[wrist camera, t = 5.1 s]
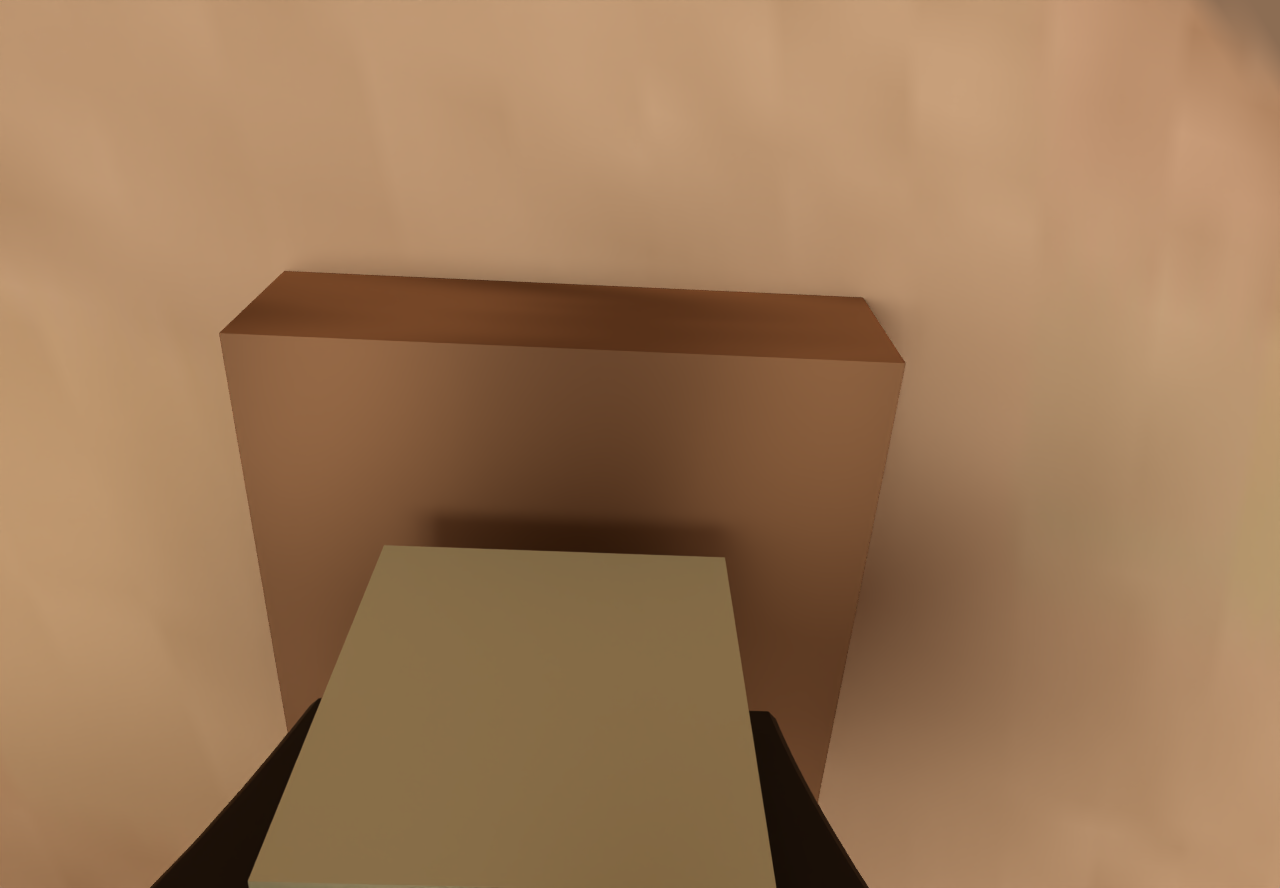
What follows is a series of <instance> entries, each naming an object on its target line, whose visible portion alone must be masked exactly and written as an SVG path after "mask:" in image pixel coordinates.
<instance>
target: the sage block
mask: <svg viewBox="0 0 1280 888" xmlns="http://www.w3.org/2000/svg"><path fill="white" fill-rule="evenodd" d="M248 885H249V888H776V882H775V876H774V870H773V863H772V857H771V850H770V844H769V837H768V831H767V825H766V818H765V812H764V805H763V799H762V793H761V786H760V780H759V773H758V767H757V760H756V754H755V748H754V741H753V735H752V728H751V722H750V716H749V709H748V703H747V696H746V690H745V683H744V677H743V671H742V664H741V658H740V651H739V645H738V638H737V632H736V626H735V619H734V613H733V606H732V600H731V594H730V587H729V581H728V574H727V568H726V561H725V557H699V556H671V555H643V554H615V553H587V552H559V551H531V550H504V549H476V548H448V547H420V546H392V545H384V546H383V549H382V551H381V554H380V556H379V559H378V561H377V564H376V566H375V569H374V571H373V574H372V576H371V578H370V581H369V583H368V586H367V588H366V591H365V593H364V596H363V598H362V601H361V603H360V606H359V608H358V611H357V613H356V615H355V618H354V620H353V623H352V625H351V628H350V630H349V633H348V635H347V638H346V640H345V643H344V645H343V648H342V650H341V652H340V655H339V657H338V660H337V662H336V665H335V667H334V670H333V672H332V675H331V677H330V680H329V682H328V685H327V687H326V689H325V692H324V694H323V697H322V699H321V702H320V704H319V707H318V709H317V712H316V714H315V717H314V719H313V722H312V724H311V726H310V729H309V731H308V734H307V736H306V739H305V741H304V744H303V746H302V749H301V751H300V754H299V756H298V759H297V761H296V763H295V766H294V768H293V771H292V773H291V776H290V778H289V781H288V783H287V786H286V788H285V791H284V793H283V796H282V798H281V800H280V803H279V805H278V808H277V810H276V813H275V815H274V818H273V820H272V823H271V825H270V828H269V830H268V833H267V835H266V837H265V840H264V842H263V845H262V847H261V850H260V852H259V855H258V857H257V860H256V862H255V865H254V867H253V870H252V872H251V874H250V877H249V879H248Z"/></svg>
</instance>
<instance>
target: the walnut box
mask: <svg viewBox="0 0 1280 888" xmlns="http://www.w3.org/2000/svg"><path fill="white" fill-rule="evenodd" d="M219 336H220V341H221V347H222V353H223V359H224V365H225V370H226V376H227V382H228V388H229V394H230V400H231V405H232V411H233V417H234V423H235V429H236V434H237V440H238V446H239V452H240V458H241V464H242V469H243V475H244V481H245V487H246V493H247V498H248V504H249V510H250V516H251V522H252V527H253V533H254V539H255V545H256V551H257V557H258V562H259V568H260V574H261V580H262V586H263V591H264V597H265V603H266V609H267V615H268V621H269V626H270V632H271V638H272V644H273V650H274V655H275V661H276V667H277V673H278V679H279V684H280V690H281V696H282V702H283V708H284V714H285V719H286V725H287V731H288V732H289V731H290V730H291V729H292V727H293V726H294V725H295V724H296V722H297V721H298V720H299V719H300V717H301V716H302V715H303V714H304V712H305V711H306V710H307V709H308V707H309V706H310V705H311V704H312V703H313V702H315V701H316V700H317V699H318V698H322V697H323V694H324V692H325V689H326V687H327V685H328V682H329V680H330V677H331V675H332V672H333V670H334V667H335V665H336V662H337V660H338V657H339V655H340V652H341V650H342V648H343V645H344V643H345V640H346V638H347V635H348V633H349V630H350V628H351V625H352V623H353V620H354V618H355V615H356V613H357V611H358V608H359V606H360V603H361V601H362V598H363V596H364V593H365V591H366V588H367V586H368V583H369V581H370V578H371V576H372V574H373V571H374V569H375V566H376V564H377V561H378V559H379V556H380V554H381V551H382V549H383V546H384V545H392V546H420V547H448V548H476V549H504V550H531V551H559V552H587V553H615V554H643V555H671V556H699V557H725V561H726V568H727V574H728V581H729V587H730V594H731V600H732V606H733V613H734V619H735V626H736V632H737V638H738V645H739V651H740V658H741V664H742V671H743V677H744V683H745V690H746V696H747V703H748V709H749V711H769V712H770V713H771V714H772V715H773V716H774V717H775V718H776V720H777V723H778V725H779V727H780V730H781V732H782V734H783V736H784V738H785V741H786V743H787V745H788V747H789V749H790V751H791V753H792V755H793V757H794V759H795V761H796V763H797V765H798V767H799V769H800V771H801V773H802V775H803V777H804V779H805V781H806V783H807V784H808V786H809V788H810V790H811V792H812V794H813V796H814V798H815V799H816V801H817V803H818V798H819V793H820V788H821V783H822V778H823V773H824V768H825V763H826V758H827V753H828V748H829V743H830V738H831V733H832V728H833V723H834V718H835V713H836V708H837V703H838V698H839V693H840V688H841V683H842V678H843V673H844V668H845V663H846V658H847V653H848V648H849V643H850V638H851V633H852V628H853V623H854V618H855V613H856V608H857V603H858V598H859V593H860V588H861V583H862V578H863V573H864V568H865V563H866V558H867V553H868V548H869V543H870V538H871V533H872V528H873V523H874V518H875V513H876V508H877V503H878V498H879V493H880V488H881V483H882V478H883V473H884V468H885V463H886V458H887V453H888V448H889V443H890V438H891V433H892V428H893V423H894V418H895V413H896V408H897V403H898V398H899V393H900V388H901V383H902V378H903V373H904V368H905V362H904V360H903V359H902V357H901V356H900V354H899V353H898V351H897V349H896V348H895V346H894V345H893V343H892V342H891V340H890V339H889V337H888V336H887V334H886V333H885V331H884V329H883V328H882V326H881V325H880V323H879V322H878V320H877V319H876V317H875V316H874V314H873V313H872V311H871V310H870V308H869V306H868V305H867V303H866V302H865V300H864V299H863V298H861V297H839V296H817V295H795V294H773V293H751V292H729V291H708V290H686V289H664V288H642V287H620V286H598V285H576V284H555V283H533V282H511V281H489V280H467V279H445V278H423V277H401V276H380V275H358V274H336V273H314V272H292V271H284V272H283V273H282V274H281V275H280V276H279V277H278V278H277V279H275V280H274V281H273V282H272V283H271V284H270V285H269V286H268V287H267V288H266V289H265V290H264V291H263V292H262V293H261V294H260V295H259V296H258V297H257V298H256V299H254V300H253V301H252V302H251V303H250V304H249V305H248V306H247V307H246V308H245V309H244V310H243V311H242V312H241V313H240V314H239V315H238V316H237V317H236V318H235V319H234V320H232V321H231V322H230V323H229V324H228V325H227V326H226V327H225V328H224V329H223V330H222V331H221V332H220V333H219Z"/></svg>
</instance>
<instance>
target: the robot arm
mask: <svg viewBox="0 0 1280 888" xmlns="http://www.w3.org/2000/svg"><path fill="white" fill-rule="evenodd" d="M321 699H322V698H318V699H317V700H316V701H315V702H313V703H312V704H311V705H310V706H309V707H308V709H307V710H306V711H305V712H304V714H303V715H302V716H301V717H300V719H299V720H298V721H297V722H296V724H295V725H294V726H293V727H292V729H291V730H290V731H289V732H288V734H287V735H286V736H285V737H284V739H283V740H282V741H281V742H280V744H279V745H278V746H277V747H276V748H275V750H274V751H273V752H272V753H271V755H270V756H269V757H268V758H267V759H266V761H265V762H264V763H263V764H262V765H261V767H260V768H259V769H258V770H257V771H256V772H255V774H254V775H253V776H252V777H251V778H250V780H249V781H248V782H247V783H246V784H245V785H244V787H243V788H242V789H241V790H240V791H239V792H238V793H237V795H236V796H235V797H234V798H233V799H232V800H231V801H230V802H229V804H228V805H227V806H226V807H225V808H224V809H223V810H222V811H221V813H220V814H219V815H218V816H217V817H216V818H215V819H214V820H213V822H212V823H211V824H210V825H209V826H208V827H207V828H206V829H205V831H204V832H203V833H202V834H201V835H200V836H199V837H198V838H197V839H196V841H195V842H194V843H193V844H192V845H191V846H190V847H189V848H188V849H187V850H186V851H185V852H184V853H183V854H182V855H181V856H180V857H179V858H178V860H177V861H176V862H175V863H174V864H173V865H172V866H171V867H170V868H169V869H168V870H167V871H166V872H165V873H164V874H163V875H162V876H161V877H160V878H159V879H158V880H157V881H156V882H155V883H154V884H153V885H152V886H151V887H150V888H249V885H248V879H249V877H250V874H251V872H252V870H253V867H254V865H255V862H256V860H257V857H258V855H259V852H260V850H261V847H262V845H263V842H264V840H265V837H266V835H267V833H268V830H269V828H270V825H271V823H272V820H273V818H274V815H275V813H276V810H277V808H278V805H279V803H280V800H281V798H282V796H283V793H284V791H285V788H286V786H287V783H288V781H289V778H290V776H291V773H292V771H293V768H294V766H295V763H296V761H297V759H298V756H299V754H300V751H301V749H302V746H303V744H304V741H305V739H306V736H307V734H308V731H309V729H310V726H311V724H312V722H313V719H314V717H315V714H316V712H317V709H318V707H319V704H320V702H321ZM749 716H750V722H751V728H752V735H753V741H754V748H755V754H756V760H757V767H758V773H759V780H760V786H761V793H762V799H763V805H764V812H765V818H766V825H767V831H768V837H769V844H770V850H771V857H772V863H773V870H774V876H775V882H776V888H869V887H868V886H867V884H866V883H865V881H864V880H863V878H862V877H861V875H860V873H859V872H858V870H857V869H856V867H855V866H854V864H853V862H852V861H851V859H850V857H849V856H848V854H847V852H846V851H845V849H844V847H843V846H842V844H841V842H840V841H839V839H838V837H837V836H836V834H835V832H834V831H833V829H832V827H831V826H830V824H829V822H828V821H827V819H826V817H825V815H824V814H823V812H822V810H821V808H820V807H819V805H818V803H817V801H816V799H815V798H814V796H813V794H812V792H811V790H810V788H809V786H808V784H807V783H806V781H805V779H804V777H803V775H802V773H801V771H800V769H799V767H798V765H797V763H796V761H795V759H794V757H793V755H792V753H791V751H790V749H789V747H788V745H787V743H786V741H785V738H784V736H783V734H782V732H781V730H780V727H779V725H778V723H777V720H776V718H775V717H774V716H773V715H772V714H771V713H770V712H769V711H749Z"/></svg>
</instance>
